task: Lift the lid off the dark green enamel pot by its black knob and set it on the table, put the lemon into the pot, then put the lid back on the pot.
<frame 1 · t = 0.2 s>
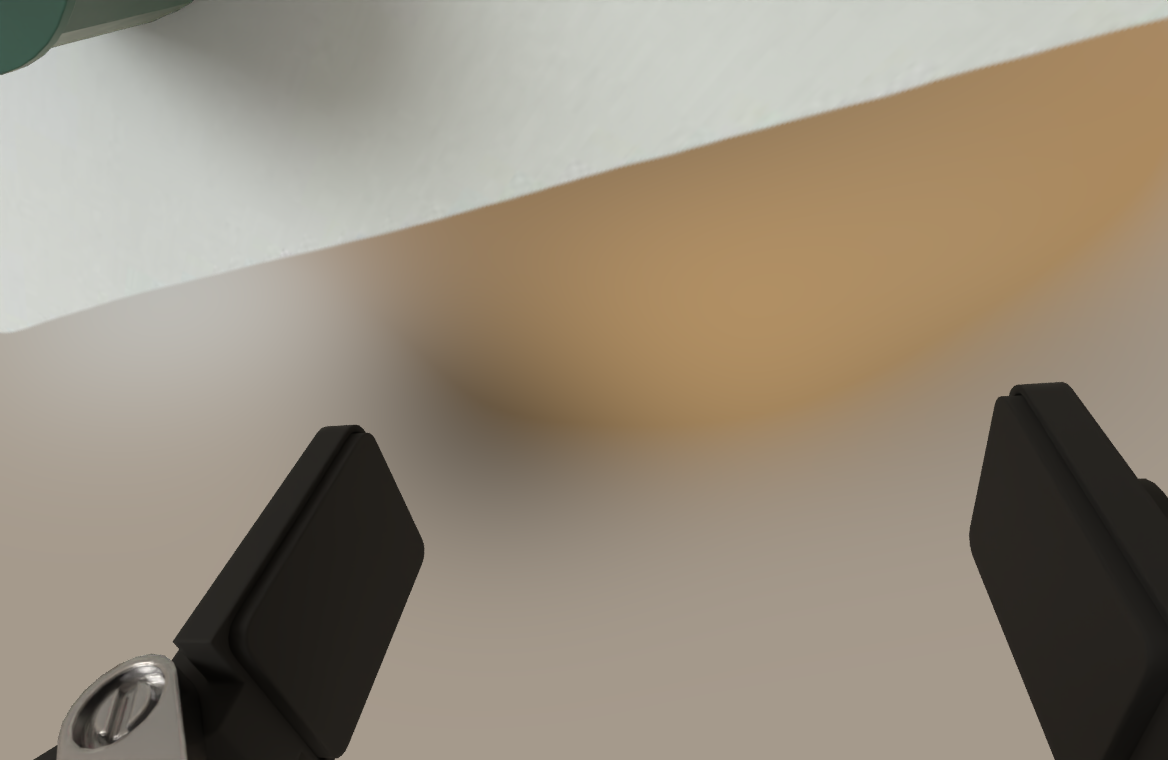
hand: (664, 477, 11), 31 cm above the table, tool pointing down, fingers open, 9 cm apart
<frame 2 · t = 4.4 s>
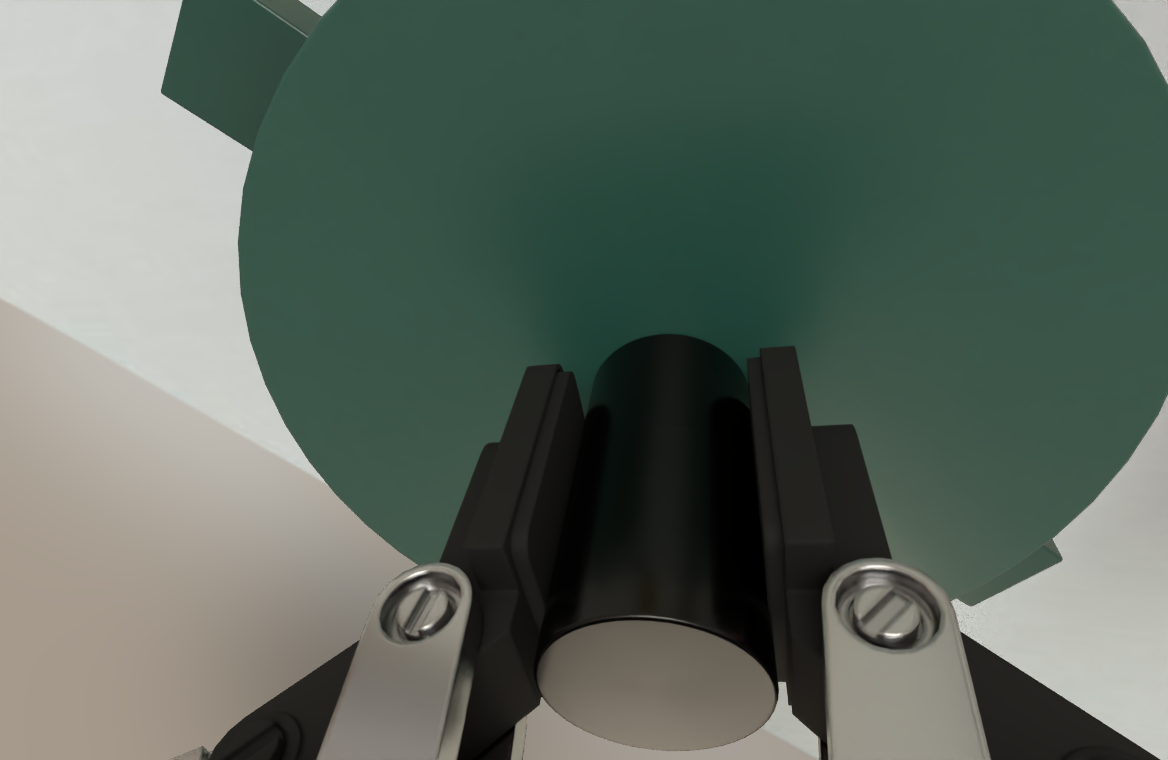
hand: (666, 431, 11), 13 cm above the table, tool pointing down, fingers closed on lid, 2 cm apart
pot: (682, 174, 21), on the table
lid: (670, 379, 13), point 11 cm above the table, touching gripper, pot
when the fingers open (2 cm above the table, at t = 12.5 s): lid stays where it is, point 1 cm above the table.
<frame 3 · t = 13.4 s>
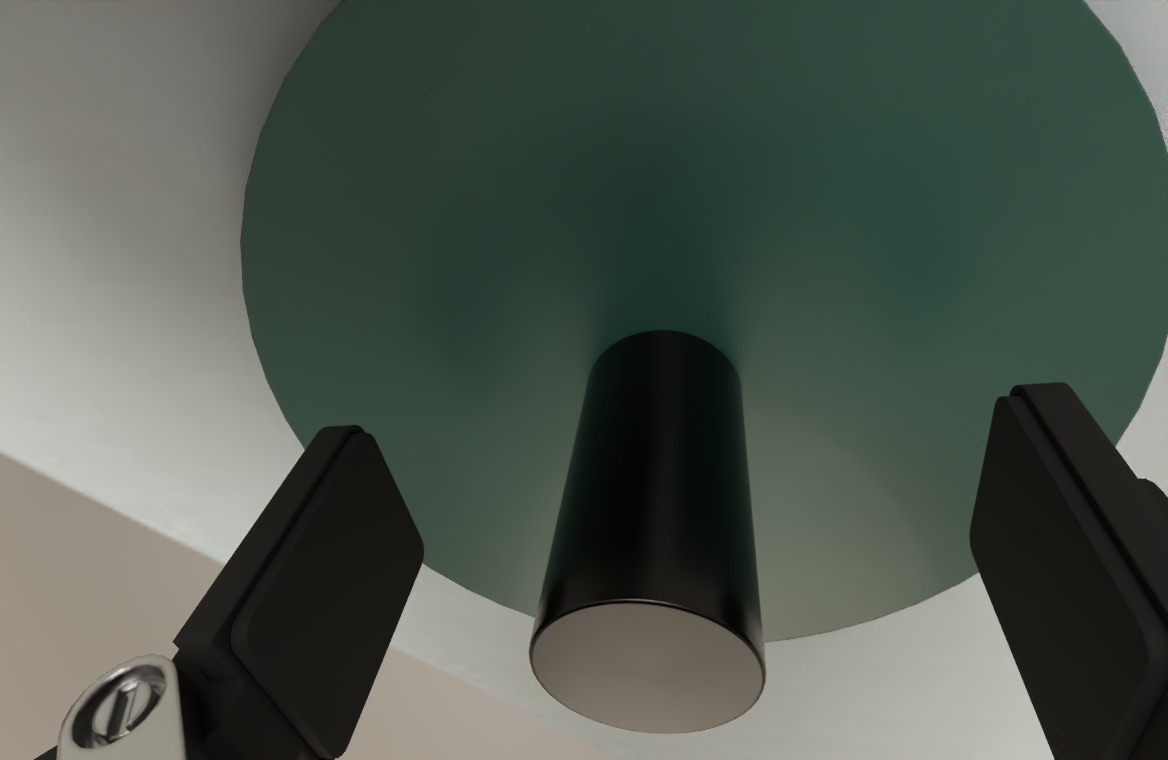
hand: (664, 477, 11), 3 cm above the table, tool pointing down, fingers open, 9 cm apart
lid: (664, 374, 13), point 1 cm above the table
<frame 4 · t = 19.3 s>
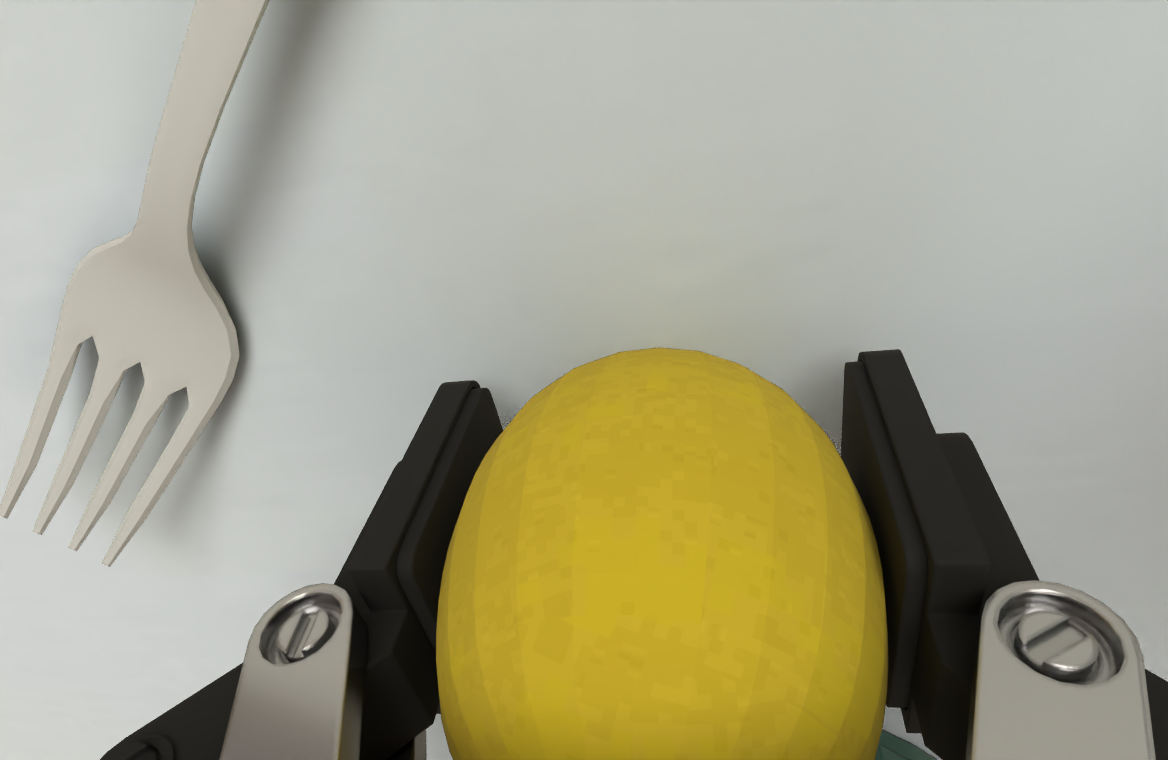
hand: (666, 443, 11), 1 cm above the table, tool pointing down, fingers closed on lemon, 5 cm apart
lemon: (669, 388, 12), on the table, touching gripper
fork: (266, 19, 10), on the table
when the fingers open (8 cm above the table, at t = 26.5 s): lemon drops 5 cm, resting on pot.
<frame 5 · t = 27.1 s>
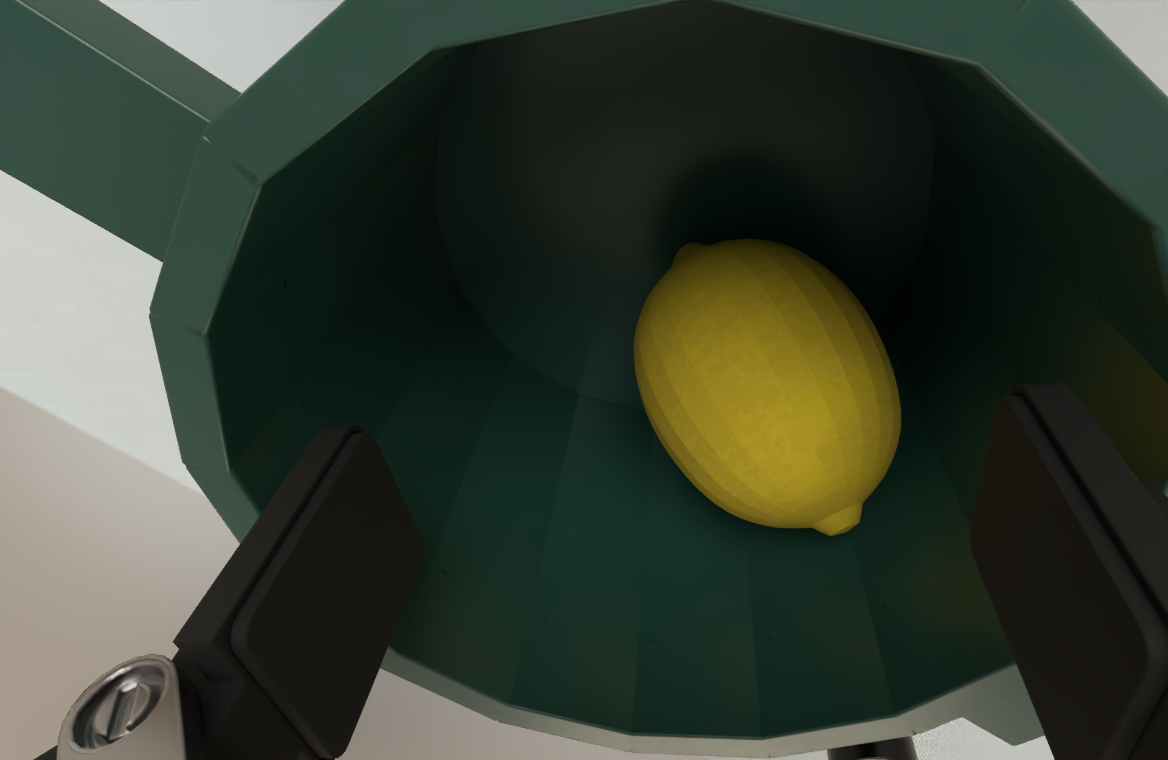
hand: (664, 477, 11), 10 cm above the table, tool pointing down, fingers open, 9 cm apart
lemon: (682, 242, 18), point 1 cm above the table, touching pot
pot: (671, 216, 19), on the table
lid: (843, 617, 27), point 1 cm above the table
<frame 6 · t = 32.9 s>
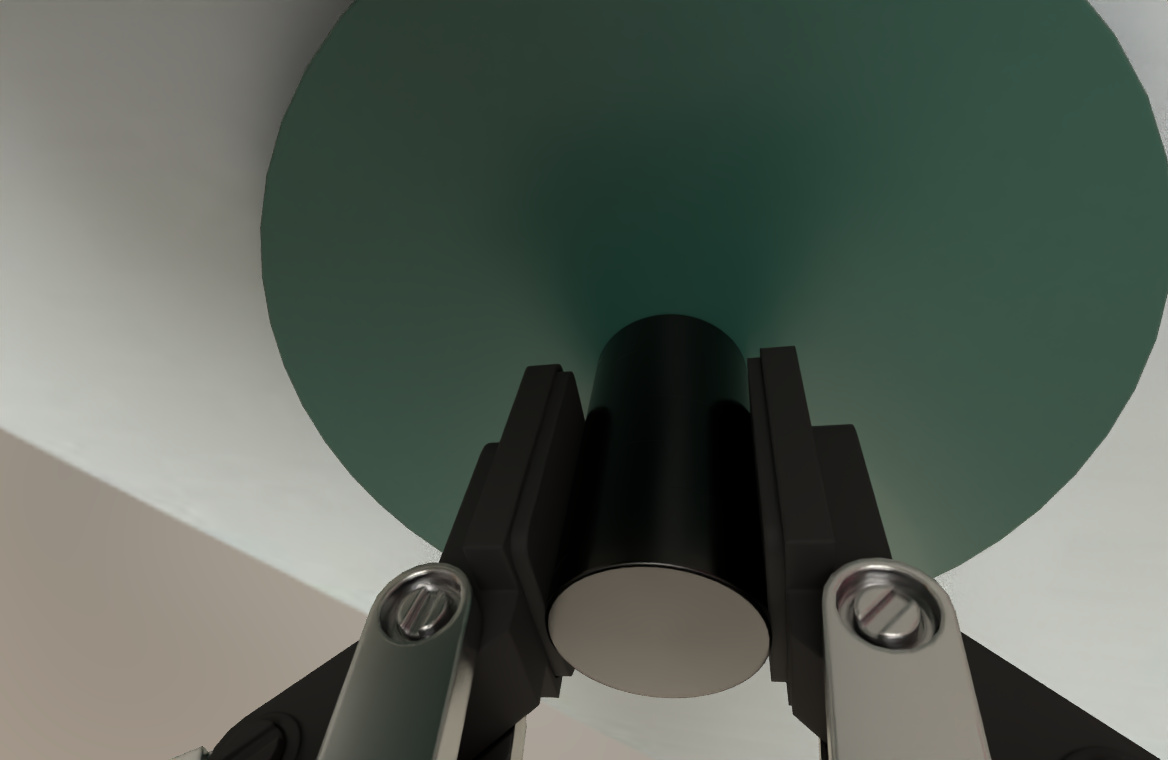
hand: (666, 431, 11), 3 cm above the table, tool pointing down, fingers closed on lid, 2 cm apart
lid: (671, 359, 13), point 1 cm above the table, touching gripper
when the fingers open (13 cm above the table, at t = 40.6 s): lid stays where it is, resting on pot.
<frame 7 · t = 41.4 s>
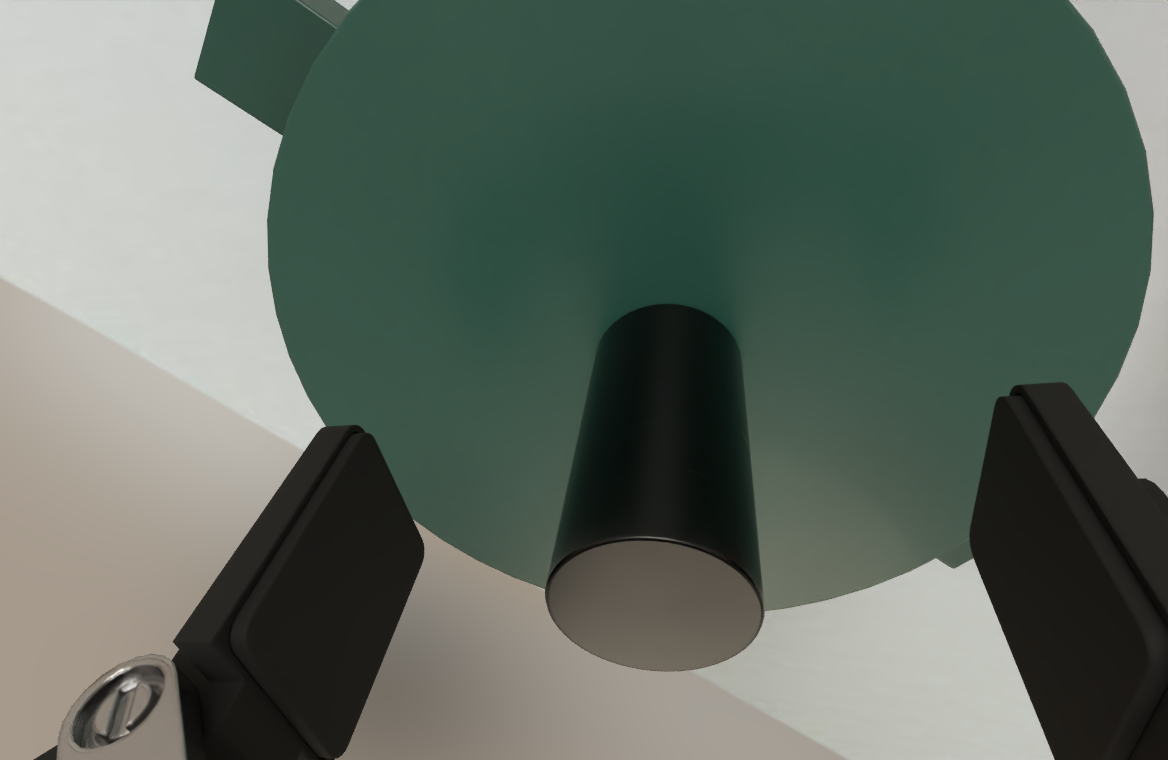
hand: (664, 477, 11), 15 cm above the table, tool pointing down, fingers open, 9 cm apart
pot: (680, 163, 22), on the table
lid: (668, 348, 14), point 11 cm above the table, touching pot
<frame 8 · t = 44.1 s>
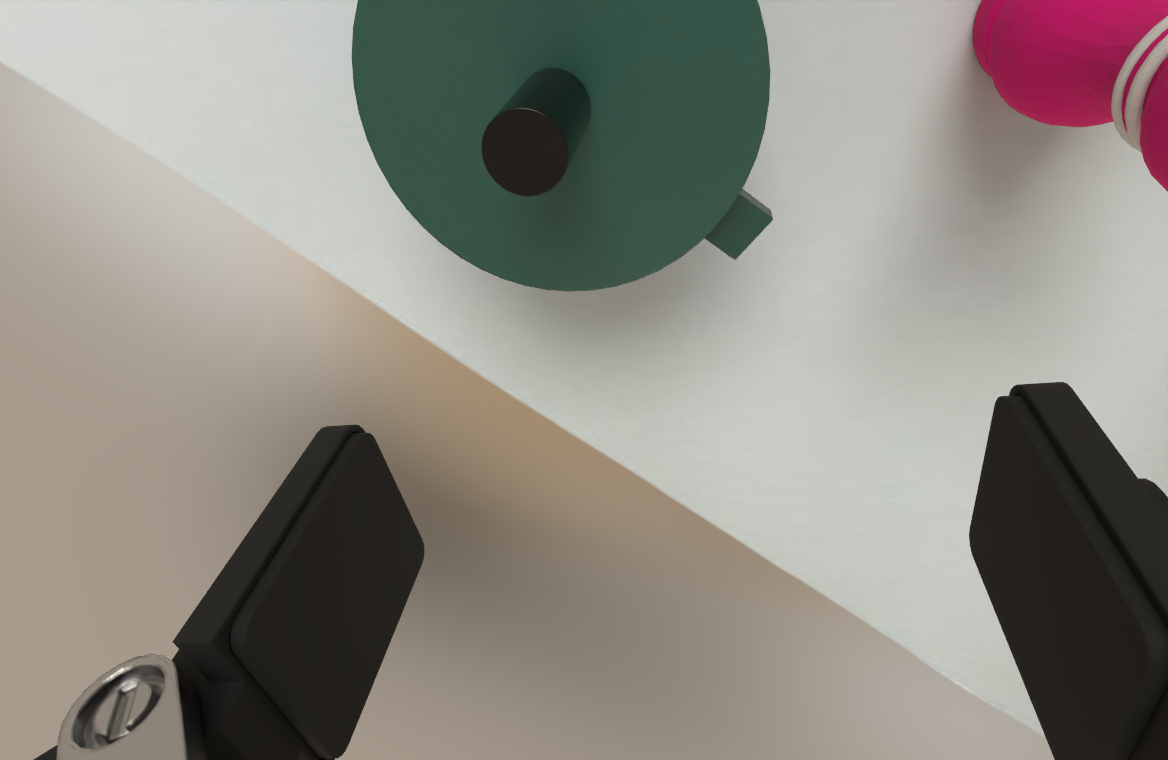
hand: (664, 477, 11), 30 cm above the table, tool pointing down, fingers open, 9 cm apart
pepper mill: (1044, 14, 32), on the table
pot: (593, 45, 35), on the table
lid: (557, 103, 26), point 11 cm above the table, touching pot
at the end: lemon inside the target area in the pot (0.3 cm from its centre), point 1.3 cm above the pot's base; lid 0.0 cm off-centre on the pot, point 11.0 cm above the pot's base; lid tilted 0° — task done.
